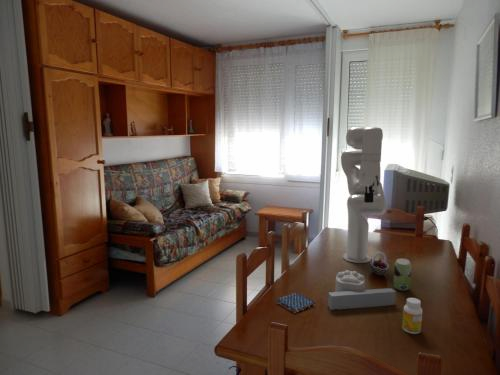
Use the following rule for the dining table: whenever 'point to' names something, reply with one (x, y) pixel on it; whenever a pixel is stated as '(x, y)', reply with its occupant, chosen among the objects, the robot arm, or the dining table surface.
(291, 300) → the woven mat
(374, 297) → the grey long bar
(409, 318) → the supplement bottle
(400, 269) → the beverage can
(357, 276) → the lumpy-topped squat cylinder
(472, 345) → the dining table surface
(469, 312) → the dining table surface
